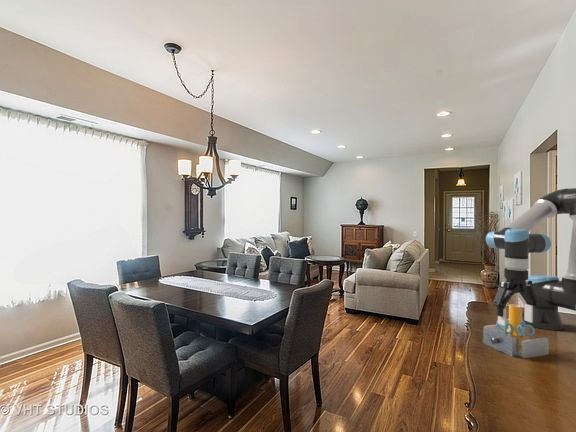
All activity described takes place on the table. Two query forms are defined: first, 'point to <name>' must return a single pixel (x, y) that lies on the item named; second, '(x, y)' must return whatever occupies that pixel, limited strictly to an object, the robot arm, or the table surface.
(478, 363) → the table surface
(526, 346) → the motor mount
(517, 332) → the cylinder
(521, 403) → the table surface
